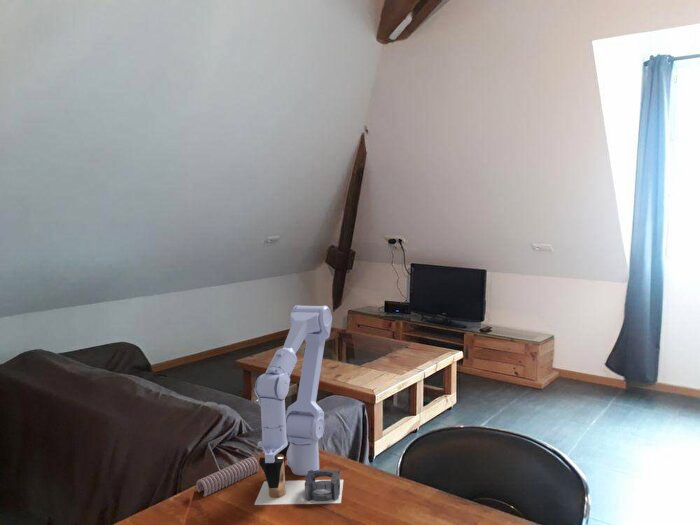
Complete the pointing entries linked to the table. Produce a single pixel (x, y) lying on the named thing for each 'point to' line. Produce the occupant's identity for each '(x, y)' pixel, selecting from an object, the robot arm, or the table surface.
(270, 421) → the robot arm
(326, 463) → the table surface
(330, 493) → the collar stand
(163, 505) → the table surface
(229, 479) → the coil
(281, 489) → the tube
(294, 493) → the base board
